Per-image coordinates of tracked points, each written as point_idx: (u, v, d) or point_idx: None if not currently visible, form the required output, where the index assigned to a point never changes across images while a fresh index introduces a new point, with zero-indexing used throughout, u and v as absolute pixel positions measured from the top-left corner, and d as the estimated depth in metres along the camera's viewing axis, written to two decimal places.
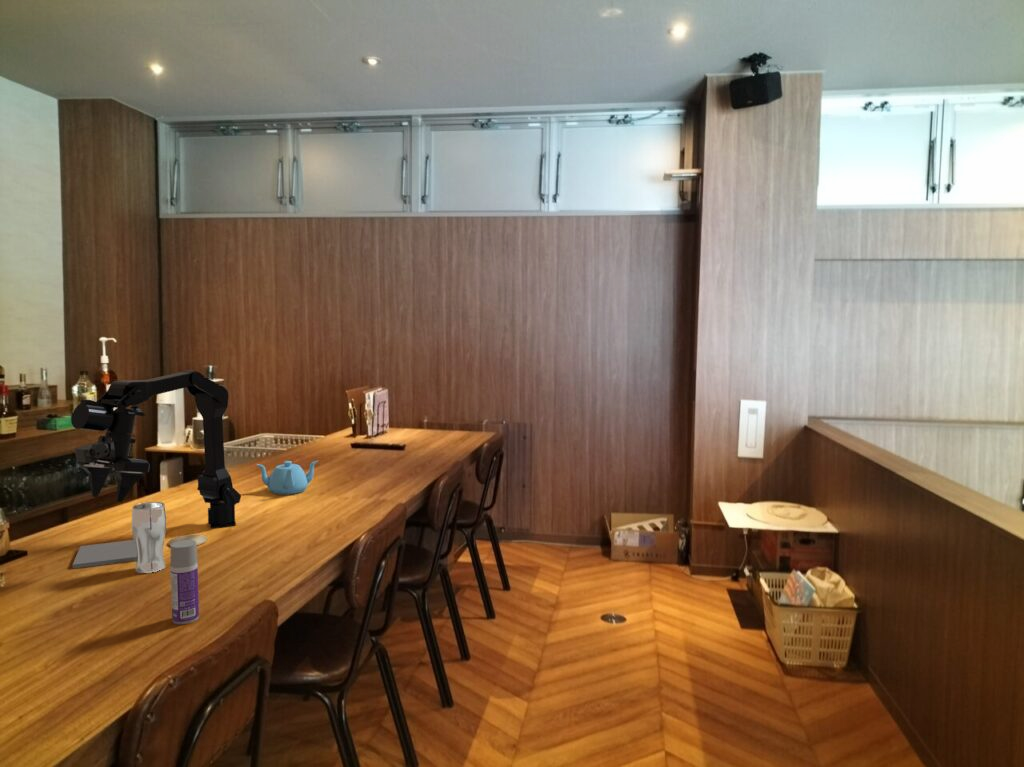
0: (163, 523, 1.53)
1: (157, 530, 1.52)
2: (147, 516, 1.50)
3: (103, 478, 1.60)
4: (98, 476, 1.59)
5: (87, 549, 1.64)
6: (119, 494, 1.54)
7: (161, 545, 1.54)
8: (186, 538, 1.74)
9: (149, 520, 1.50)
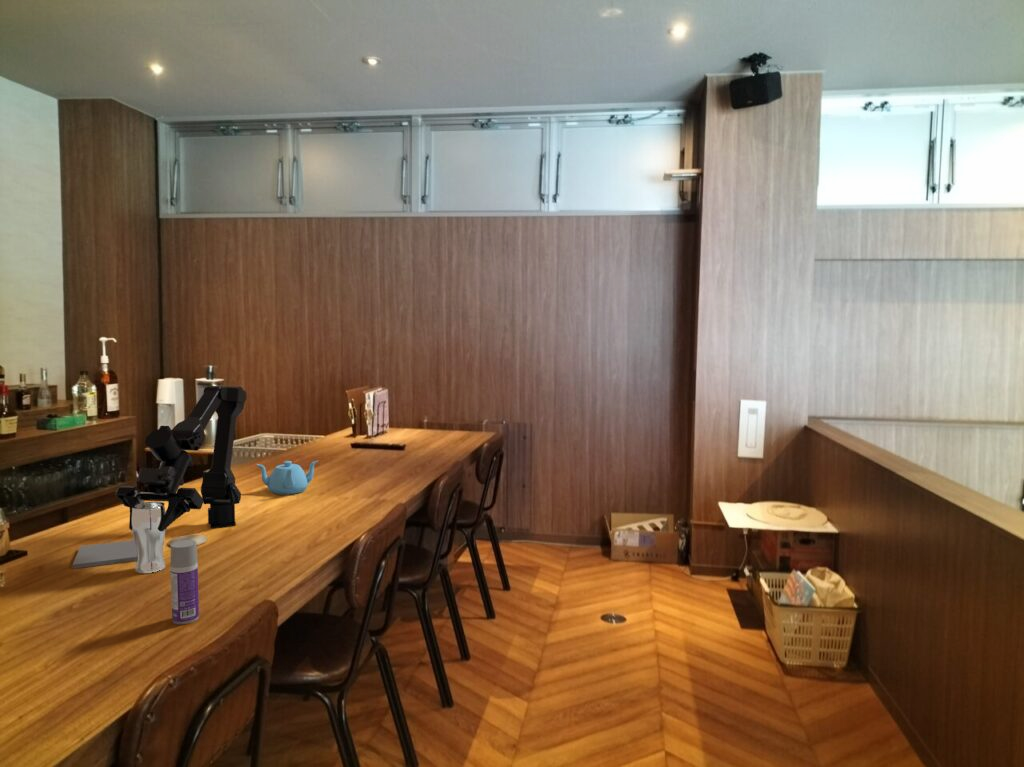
0: None
1: (157, 530, 1.52)
2: (147, 516, 1.50)
3: None
4: None
5: (87, 549, 1.64)
6: (164, 522, 1.52)
7: (161, 545, 1.54)
8: (186, 538, 1.74)
9: (149, 520, 1.50)
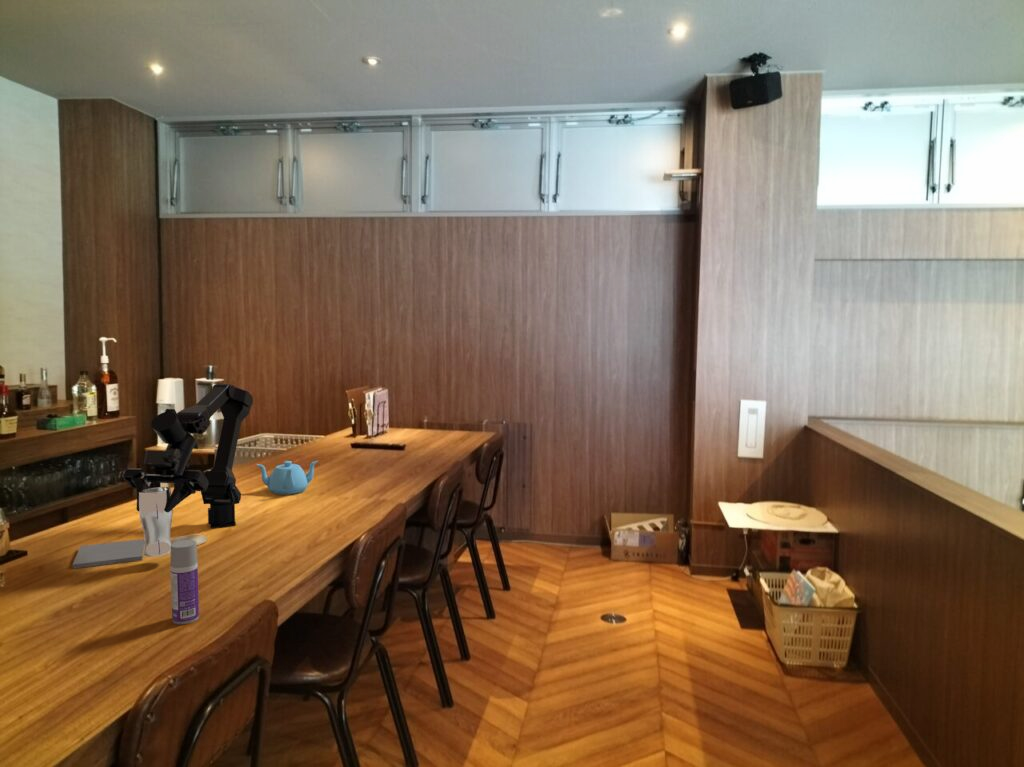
0: None
1: (163, 513, 1.54)
2: (153, 499, 1.53)
3: None
4: None
5: (87, 549, 1.64)
6: (171, 503, 1.55)
7: (168, 529, 1.56)
8: (186, 538, 1.74)
9: (155, 503, 1.53)
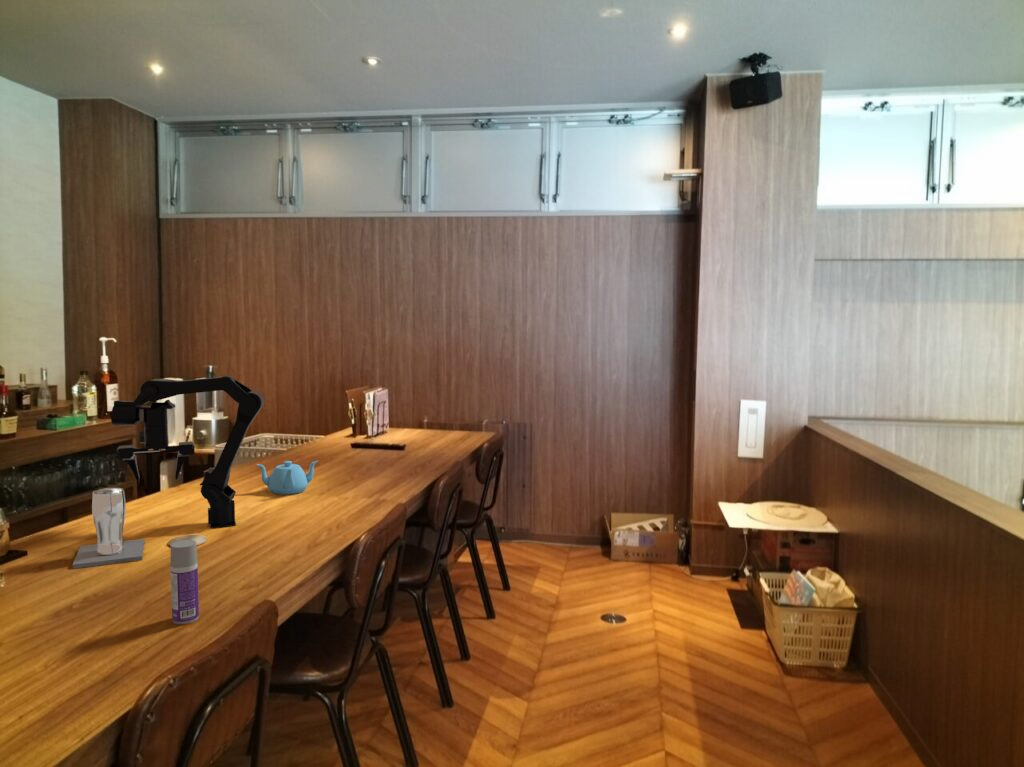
0: (116, 510, 1.59)
1: (107, 516, 1.58)
2: (98, 501, 1.58)
3: (177, 465, 1.84)
4: None
5: (87, 549, 1.64)
6: None
7: (115, 530, 1.60)
8: (186, 538, 1.74)
9: (100, 505, 1.58)
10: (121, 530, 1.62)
